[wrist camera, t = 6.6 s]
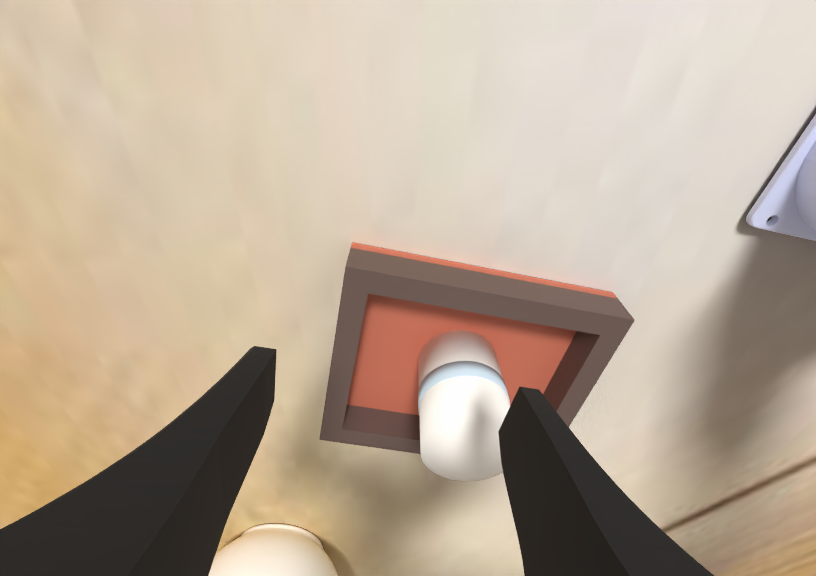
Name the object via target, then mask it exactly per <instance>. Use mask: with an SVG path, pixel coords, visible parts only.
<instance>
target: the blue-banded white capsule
mask: <svg viewBox="0 0 816 576" xmlns="http://www.w3.org/2000/svg"><path fill="white" fill-rule="evenodd" d="M418 378H419V389H418V411H419V416H420V452H421V458H422V461H423V462H424V464H425V465H426V467H427V468H428V469H429V470H431V471H432V472H433V473H435V474H437V475H439V476H441V477H444V478H447V479H451V480H457V481H476V480H482V479H487V478H490V477H493V476H496V475H498V474H500V473H502V472H503V469H502V464H501V455H500V445H499V433H498V431H499V429H500V427H501V425H502V423H503V421H504V418H505V416H506V414H507V412H508V410H509V408H510V400H509V396H508V392H507V389H506V385H505V382H504V380H503V378H502V374H501V370H500V366H499V362H498V359H497V355H496V351H495V349H494V347H493V345H492V344H491V342H490V341H489V340H487V339H486V338H485V337H483V336H482V335H480V334H477V333H475V332H471V331H465V330H454V331H448V332H444V333H441V334H439V335H437V336H435V337H433V338H432V339H430V340H429V341H428V342H427V343H426V344H425V345H424V346H423V348H422V349H421V351H420V354H419V357H418Z"/></svg>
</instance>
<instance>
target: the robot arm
mask: <svg viewBox="0 0 816 576" xmlns="http://www.w3.org/2000/svg"><path fill="white" fill-rule="evenodd" d="M771 216H772V218H771V219H770V220H769V221H768V222H766V221H767V219H768V218H769V217H771ZM746 222H747V223H748V224H749V225H751V226H753V227H755V228H758V229H763V230H767V231H772V232H777V233H781V234H786V235H790V236H795V237H800V238H804V239H809V240H813V241H816V114H815V116H814V117H813V119H812V120H811V122H810V123H809V125H808V126H807V128H806V129H805V131H804V132H803V134H802V135H801V136H800V138H799V139H798V141H797V142H796V144H795V145H794V147H793V148H792V150H791V151H790V153H789V154H788V156H787V157H786V159H785V160H784V161H783V163H782V164H781V166H780V167H779V169H778V170H777V172H776V173H775V175H774V176H773V178H772V179H771V181H770V182H769V184H768V185H767V186H766V188H765V189H764V191H763V192H762V194H761V195H760V197H759V198H758V200H757V201H756V203H755V204H754V206H753V207H752V209H751V210H750V211H749V213H748V215H747V217H746ZM275 369H276V349H270V348H264V347H257V346H254V347H252V348H251V349H250V350H249V351H248V352H247V353H246V354H245V355H244V356H243V357H242V358H241V359H240V360H239V361H238V362H237V363H236V364H235V365H234V366H233V367H232V368H231V369H230V370H229V371H228V372H227V373H226V374H225V375H224V376H223V377H222V378H221V379H220V380H219V381H218V382H217V383H216V384H215V385H214V386H213V387H211V388H210V389H209V390H208V391H207V392H206V393H205V394H204V395H203V396H202V397H201V398H199V399H198V400H197V401H196V402H195V403H194V404H193V405H191V406H190V407H189V408H188V409H187V410H185V411H184V412H183V413H182V414H181V415H179V416H178V417H177V418H176V419H175V420H173V421H172V422H171V423H170V424H168V425H167V426H166V427H165V428H163V429H162V430H161V431H159V432H158V433H157V434H155V435H154V436H153V437H151V438H150V439H149V440H147V441H146V442H145V443H143V444H142V445H140V446H139V447H138V448H136V449H135V450H133V451H132V452H130V453H129V454H128V455H126V456H125V457H123V458H122V459H120V460H119V461H117V462H116V463H114V464H112V465H111V466H109V467H108V468H106V469H105V470H103V471H102V472H100V473H99V474H97V475H96V476H94V477H92V478H91V479H89V480H88V481H86V482H84V483H83V484H81V485H79V486H78V487H76V488H74V489H72V490H71V491H69V492H67V493H65V494H64V495H62V496H60V497H59V498H57V499H55V500H53V501H52V502H50V503H48V504H46V505H45V506H43V507H41V508H39V509H38V510H36V511H34V512H32V513H31V514H29V515H27V516H25V517H23V518H21V519H19V520H18V521H16V522H14V523H12V524H10V525H8V526H6V527H4V528H2V529H0V576H208V575H209V572H210V569H211V566H212V563H213V560H214V557H215V554H216V551H217V548H218V545H219V542H220V539H221V536H222V533H223V530H224V527H225V524H226V522H227V519H228V516H229V514H230V511H231V509H232V507H233V504H234V502H235V500H236V497H237V495H238V493H239V490H240V488H241V486H242V484H243V481H244V479H245V477H246V474H247V472H248V470H249V467H250V465H251V463H252V461H253V458H254V456H255V454H256V451H257V449H258V447H259V444H260V442H261V439H262V437H263V435H264V432H265V429H266V426H267V422H268V419H269V416H270V413H271V409H272V406H273V402H274V393H275ZM498 433H499V445H500V455H501V464H502V469H503V474H504V478H505V483H506V487H507V492H508V496H509V500H510V504H511V509H512V513H513V517H514V522H515V526H516V530H517V535H518V539H519V544H520V549H521V554H522V559H523V566H524V574H525V576H714V575H713V574H711V573H710V572H709V571H708V570H706V569H705V568H704V567H703V566H702V565H701V564H699V563H698V562H697V561H696V560H695V559H693V558H692V557H691V556H690V555H689V554H688V553H686V552H685V551H684V550H683V549H682V548H681V547H680V546H679V545H678V544H676V543H675V542H674V541H673V540H672V539H671V538H670V537H669V536H667V535H666V534H665V533H664V532H663V531H662V530H661V529H660V528H659V527H658V526H657V525H656V524H655V523H653V522H652V521H651V520H650V519H649V518H648V517H647V516H646V515H645V514H644V513H643V512H642V511H641V510H640V509H639V508H638V507H637V506H636V505H635V504H634V503H633V502H632V501H631V500H630V499H629V498H628V497H627V496H626V494H625V493H624V492H623V491H622V490H621V489H620V488H619V487H618V486H617V485H616V484H615V483H614V481H613V480H612V479H611V478H610V477H609V476H608V475H607V474H606V472H605V471H604V470H603V469H602V468H601V467H600V466H599V464H598V463H597V462H596V461H595V460H594V458H593V457H592V456H591V455H590V454H589V452H588V451H587V450H586V449H585V448H584V446H583V445H582V444H581V443H580V441H579V440H578V439H577V438H576V436H575V435H574V434H573V433H572V431H571V430H570V429H569V427H568V426H567V425H566V424H565V422H564V421H563V420H562V418H561V417H560V416H559V414H558V413H557V412H556V411H555V409H554V408H553V407H552V405H551V404H550V403H549V401H548V400H547V399H546V398H545V396H544V395H543V394H542V393H541V391H540V390H539V389H533V388H526V387H520V386H519V389H518V391H517V393H516V395H515V397H514V399H513V401H512V403H511V406H510V408H509V410H508V412H507V414H506V416H505V418H504V421H503V423H502V425H501V427H500V429H499V431H498Z"/></svg>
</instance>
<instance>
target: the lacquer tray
mask: <svg viewBox="0 0 816 576" xmlns="http://www.w3.org/2000/svg"><path fill="white" fill-rule="evenodd" d="M633 322H634V319H633V317H632V316H631V315H630V314H629V312H628V311H627V310H626V309H625V307H624V306H623V305H622V303H621V302H620V301H619V300H618V298H617V297H616V296H615V294H614V293H613V292H608V291H603V290H598V289H592V288H587V287H582V286H577V285H572V284H566V283H561V282H556V281H551V280H546V279H540V278H535V277H530V276H525V275H520V274H514V273H509V272H504V271H499V270H493V269H488V268H483V267H478V266H473V265H467V264H462V263H457V262H452V261H447V260H441V259H436V258H431V257H426V256H421V255H415V254H410V253H405V252H400V251H395V250H389V249H384V248H379V247H374V246H369V245H363V244H358V243H353V242H352V246H351V249H350V253H349V256H348V260H347V263H346V268H345V274H344V281H343V287H342V294H341V301H340V307H339V314H338V321H337V327H336V334H335V341H334V347H333V354H332V360H331V367H330V374H329V380H328V387H327V394H326V400H325V407H324V413H323V420H322V427H321V433H320V440H326V441H333V442H340V443H347V444H354V445H361V446H368V447H375V448H382V449H390V450H397V451H404V452H411V453H418V454H421V452H420V416H419V411H418V389H419V378H418V357H419V354H420V351H421V349H422V348H423V346H424V345H425V344H426V343H427V342H428V341H429V340H430V339H432V338H433V337H435V336H437V335H439V334H441V333H444V332H448V331H454V330H465V331H471V332H475V333H477V334H480V335H482V336H483V337H485V338H486V339H487V340H489V341H490V342H491V344H492V345H493V347H494V349H495V351H496V355H497V359H498V362H499V366H500V370H501V374H502V378H503V380H504V382H505V385H506V389H507V392H508V396H509V400H510V406H511V403H512V401H513V399H514V397H515V395H516V393H517V391H518V389H519V386H520V387H526V388H533V389H539V390H540V391H541V393H542V394H543V395H544V396H545V398H546V399H547V400H548V401H549V403H550V404H551V405H552V407H553V408H554V409H555V411H556V412H557V413H558V414H559V416H560V417H561V418H562V420H563V421H564V422H565V424H566V425H567V426H568V427H569V426H570V424H571V422H572V421H573V419H574V418H575V416H576V414H577V413H578V411H579V409H580V408H581V406H582V405H583V403H584V401H585V400H586V398H587V396H588V395H589V393H590V392H591V390H592V388H593V387H594V385H595V384H596V382H597V380H598V379H599V377H600V375H601V374H602V372H603V371H604V369H605V367H606V366H607V364H608V362H609V361H610V359H611V358H612V356H613V354H614V353H615V351H616V349H617V348H618V346H619V345H620V343H621V341H622V340H623V338H624V336H625V335H626V333H627V332H628V330H629V328H630V327H631V325H632V323H633Z"/></svg>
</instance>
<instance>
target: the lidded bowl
mask: <svg viewBox="0 0 816 576" xmlns="http://www.w3.org/2000/svg"><path fill="white" fill-rule="evenodd" d="M208 576H338V574H337V572H336V569H335V567H334V565H333V563H332V561H331V560H330V558H329V556H328V555H327V554H326V553H325V551H324V550H323V545H322V543H321V541H320V540H319V539H318V538H317V537H316V536H315V535H314V534H312V533H311V532H309V531H307V530H305V529H302V528H300V527H296V526H293V525H287V524H279V523H270V524H262V525H257V526H254V527H251V528H249V529H247V530H246V531H245V532H244V533H243V534H242V535H241V537H239V538H237V539H236V540H234V541H232V542H231V543H229V544H228V545H226V546H225V547H224V548H222V549H221V550H220V551H219V552H217V553H216V554H215V557H214V560H213V563H212V566H211V569H210V572H209V575H208Z"/></svg>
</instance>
